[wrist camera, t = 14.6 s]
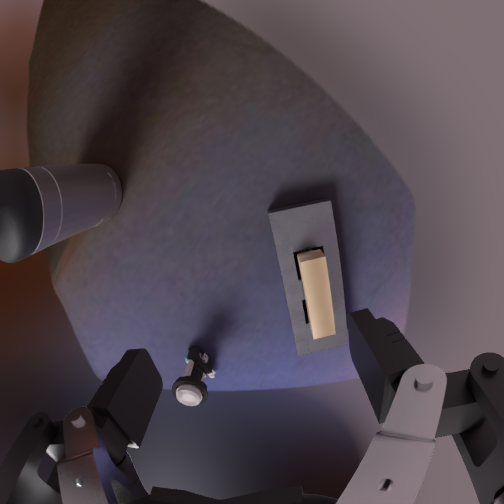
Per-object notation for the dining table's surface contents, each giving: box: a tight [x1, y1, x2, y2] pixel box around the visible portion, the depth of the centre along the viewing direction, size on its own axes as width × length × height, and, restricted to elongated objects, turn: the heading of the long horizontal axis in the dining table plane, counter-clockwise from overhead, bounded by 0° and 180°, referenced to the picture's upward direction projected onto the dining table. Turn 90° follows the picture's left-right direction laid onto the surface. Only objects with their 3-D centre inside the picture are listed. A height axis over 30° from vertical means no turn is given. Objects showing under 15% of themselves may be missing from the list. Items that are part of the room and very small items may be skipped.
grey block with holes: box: [268, 198, 348, 356], centre depth 37 cm, size 8×22×3 cm, turn 13°
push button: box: [172, 346, 215, 406], centre depth 39 cm, size 7×5×10 cm
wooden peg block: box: [297, 249, 336, 339], centre depth 36 cm, size 3×11×7 cm, turn 14°
